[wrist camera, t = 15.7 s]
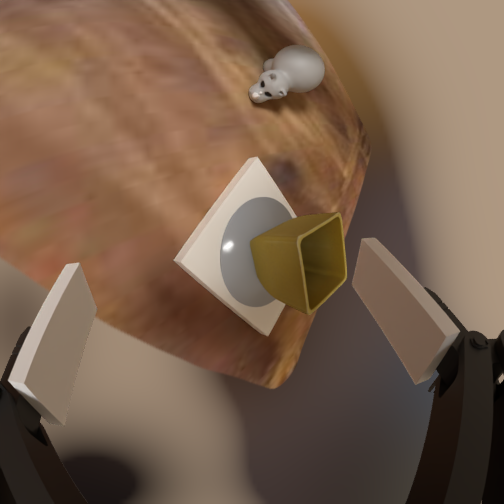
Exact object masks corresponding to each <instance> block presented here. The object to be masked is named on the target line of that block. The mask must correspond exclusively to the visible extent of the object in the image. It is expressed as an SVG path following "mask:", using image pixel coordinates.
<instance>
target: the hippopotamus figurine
mask: <svg viewBox="0 0 504 504" xmlns="http://www.w3.org/2000/svg"><path fill="white" fill-rule="evenodd" d="M263 69H264V71H265V72H264V73H262V74H261V75H260V77H259V79H258V82H257V83H256V84H254V85H253V86H251V87H250V89H249V97H250V99H251V100H253V101H254V102H256V103H262V102H264V101H267V100H270V99H280V98H282V97H284V96H286V95H287V92H288V91H292V92H297V93H303V92H308V91H310V90H313V89H314V88H316V87H317V86H318V85H319V84H320V83H321V81H322V79H323V77H324V73H325V68H324V63H323V60H322V59H321V57H320V56H319V54H318V53H317V52H315V51H314V50H313V49H311V48H309V47H306V46H303V45H291V46H287V47H285V48H283V49H281V50H280V51H279V52H278V53H277V54H276V56H275V57H274V59H268V60H266V61H265V62H264V64H263Z"/></svg>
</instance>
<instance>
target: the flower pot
mask: <svg viewBox="0 0 504 504" xmlns="http://www.w3.org/2000/svg"><path fill="white" fill-rule="evenodd" d="M250 248H251V252H252V256H253V261H254V265H255V270H256V274H257V277H258V279H259V281H260V283H261V284H262V286H263V287H264V288H265V290H266V291H267V292H268V293H269V294H270V295H271V296H273V297H274V298H275V299H277V300H279V301H280V302H282V303H284V304H286V305H288V306H290V307H292V308H295V309H297V310H299V311H301V312H303V313H305V314H307V315H310V314H312V313H313V312H314V311H315V310H316V309H317V308H319V307H320V305H322V304H323V303H324V302H325V301H326V300H327V299H328V298H329V297H330V296H331V295H332V294H333V293H334V292H335V291H336V290H337V289H338V288H339V287H340V286H341V285H342V284H343V283H344V281H345V280H346V279H347V265H346V256H345V255H346V254H345V244H344V234H343V224H342V218H341V214H340V212H336V213H324V214H313V215H304V216H299V217H296V218H293V219H290V220H288V221H286V222H284V223H282V224H280V225H278V226H276V227H274V228H272V229H270V230H268V231H266V232H264V233H262V234H260V235H258V236H256V237H255V238H253V239H252V240H251V241H250Z"/></svg>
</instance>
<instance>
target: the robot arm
mask: <svg viewBox="0 0 504 504" xmlns="http://www.w3.org/2000/svg"><path fill="white" fill-rule="evenodd" d="M352 286H353V287H354V289H355V290H356V292H357V293H358V295H359V296H360V298H361V299H362V301H363V302H364V304H365V305H366V307H367V308H368V309H369V311H370V312H371V314H372V316H373V317H374V319H375V320H376V322H377V323H378V325H379V326H380V328H381V329H382V330H383V332H384V334H385V336H386V337H387V339H388V340H389V342H390V343H391V345H392V347H393V348H394V350H395V352H396V353H397V355H398V356H399V358H400V360H401V361H402V363H403V365H404V366H405V368H406V369H407V371H408V373H409V375H410V376H411V378H412V380H413V381H414V383H415V384H418V383H421V382H423V381H425V380H428V379H430V377H431V376H432V374H433V373H434V371H435V370H437V372H438V373H439V375H438V377H437V378H436V380H435V381H434V382H433V384H432V385H431V386H430V388H429V390H428V391H429V392H431V390H432V389H433V388H434V386H435V391H434V399H433V405H432V410H431V416H430V421H429V426H428V430H427V435H426V439H425V443H424V447H423V451H422V454H421V458H420V462H419V465H418V469H417V472H416V475H415V478H414V481H413V484H412V487H411V490H410V493H409V495H408V498H407V501H406V503H405V504H481V500H482V504H504V380H503V381H502V383H499V380H498V378H499V377H500V376H501V375H502V374H504V330H503V331H502V332H501V333H500V335H499V336H498V338H497V339H487V338H486V337H485V336H484V335H483V334H482V333H479V332H477V331H469V332H468V331H467V330H466V328H465V327H464V326H463V325H462V324H461V322H460V321H459V320H458V319H457V318H456V317H455V315H454V314H453V313H452V312H451V311H450V310H449V309H448V307H447V306H446V305H445V304H444V303H442V301H441V299H440V298H439V297H438V296H437V295H436V294H435V293H434V292H432V291H431V290H429V289H428V288H426V287H425V288H423V287H422V286H421V285H420V284H419V283H418V281H417V280H416V279H415V278H414V277H413V276H412V275H411V274H410V273H409V272H408V271H407V270H406V269H405V268H404V267H403V266H402V264H401V263H400V262H399V261H398V260H397V259H396V258H395V257H394V256H393V255H392V254H391V253H390V252H389V251H388V250H387V249H386V248H385V247H384V246H383V245H382V244H381V243H380V242H379V241H378V240H377V239H376V238H365V239H364V238H363V239H362V240H361V245H360V250H359V255H358V260H357V264H356V269H355V273H354V277H353V282H352ZM96 311H97V307H96V304H95V302H94V299H93V297H92V294H91V292H90V289H89V287H88V284H87V281H86V279H85V276H84V273H83V270H82V267H81V264H80V263H72V264H66V266H65V267H64V269H63V271H62V272H61V274H60V276H59V277H58V279H57V281H56V282H55V284H54V286H53V287H52V289H51V291H50V293H49V294H48V296H47V298H46V300H45V302H44V303H43V305H42V307H41V309H40V311H39V313H38V315H37V317H36V319H35V321H34V323H33V325H32V327H27V328H26V330H25V331H24V332H23V333H22V334H21V335H20V337H19V339H18V341H17V344H16V347H15V348H14V350H13V352H12V355H11V357H10V359H9V361H8V364H7V366H6V369H5V371H4V374H3V376H2V378H1V381H0V504H88V503H87V501H86V500H85V498H84V497H83V496H82V494H81V493H80V491H79V490H78V488H77V487H76V485H75V484H74V482H73V480H72V479H71V477H70V475H69V474H68V472H67V470H66V469H65V467H64V465H63V464H62V462H61V460H60V458H59V456H58V455H57V453H56V451H55V449H54V447H53V445H52V443H51V441H50V439H49V437H48V435H47V433H46V431H45V429H44V427H43V425H42V424H41V423H40V419H41V416H42V417H43V418H44V419H45V420H46V421H47V422H48V423H51V424H56V425H61V426H65V423H66V418H67V413H68V408H69V404H70V399H71V395H72V391H73V387H74V383H75V379H76V375H77V372H78V368H79V365H80V361H81V358H82V354H83V350H84V348H85V344H86V341H87V338H88V335H89V332H90V329H91V326H92V323H93V320H94V317H95V314H96Z"/></svg>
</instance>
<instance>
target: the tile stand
mask: <svg viewBox="0 0 504 504" xmlns="http://www.w3.org/2000/svg"><path fill="white" fill-rule="evenodd" d="M296 217H297V216H296V215H295V213H294V212H293V210H292V208H291V207H290V205H289V204H288V202H287V201H286V199H285V197H284V196H283V194H282V193H281V191H280V190H279V188H278V187H277V185H276V184H275V182H274V181H273V179H272V178H271V176H270V175H269V173H268V172H267V170H266V169H265V167H264V166H263V164H262V163H261V161H260V160H259V158H258V157H253V158H249V159H248V160H247V161H246V163H245V164H244V165H243V166H242V168H241V169H240V170H239V171H238V173H237V174H236V175H235V177H234V178H233V179H232V180H231V182H230V183H229V184H228V186H227V187H226V188H225V190H224V191H223V192H222V194H221V195H220V196H219V198H218V199H217V200H216V202H215V203H214V204H213V206H212V207H211V208H210V210H209V211H208V212H207V214H206V215H205V216H204V218H203V219H202V221H201V222H200V223H199V225H198V226H197V227H196V229H195V230H194V232H193V233H192V234H191V236H190V237H189V239H188V240H187V241H186V243H185V244H184V246H183V247H182V249H181V250H180V251H179V253H178V254H177V256H176V257H175V259H174V260H173V261H175V262H176V263H177V264H178V265H179V266H180V267H181V268H182V269H184V270H185V271H186V272H187V273H188V274H189V275H190V276H192V277H193V278H194V279H195V280H196V281H197V282H199V283H200V284H201V285H202V286H203V287H204V288H206V289H207V290H208V291H209V292H210V293H211V294H213V295H214V296H215V297H216V298H217V299H219V300H220V301H221V302H222V303H223V304H225V305H226V306H227V307H228V308H229V309H231V310H232V311H233V312H234V313H236V314H237V315H238V316H239V317H240V318H242V319H243V320H244V321H245V322H247V323H248V324H249V325H250V326H252V327H253V328H254V329H255V330H257V331H258V332H259V333H261V334H263V335H266V336H269V334H270V332H271V330H272V328H273V327H274V325H275V323H276V321H277V319H278V317H279V316H280V314H281V312H282V310H283V308H284V306H285V304H284V303H282V302H280V301H279V300H277V299H275V298H274V297H273V296H271V295H270V294H269V293H268V292H267V291H266V290H265V288H264V287H263V286H262V284H261V283H260V281H259V279H258V277H257V274H256V270H255V265H254V261H253V256H252V252H251V248H250V241H251V240H252V239H253V238H255V237H256V236H258V235H260V234H262V233H264V232H266V231H268V230H270V229H272V228H274V227H276V226H278V225H280V224H282V223H284V222H286V221H288V220H290V219H293V218H296Z"/></svg>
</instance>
